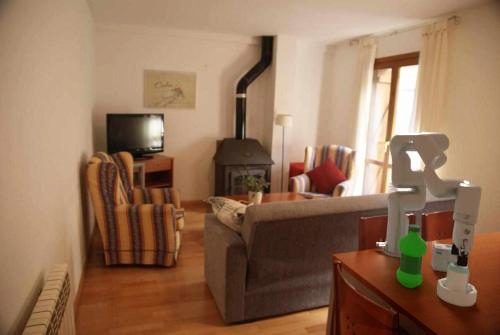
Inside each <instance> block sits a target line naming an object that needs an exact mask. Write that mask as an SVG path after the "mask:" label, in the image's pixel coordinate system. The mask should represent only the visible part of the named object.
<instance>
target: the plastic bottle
mask: <svg viewBox="0 0 500 335" xmlns="http://www.w3.org/2000/svg"><path fill="white" fill-rule="evenodd" d="M419 233H421V226H420V225H418V224H412V223H411V224H410V223H409V226H408V234H407V235H405V236H403V237H402V238H400V240H399V243H398V245H399V250H400V252H401V258H400V259H399V260H400V261H399V267H398V269H397V270H396V279H397V281H398V282H399V283H400V284H401V285H402V286H403V287H404V288H408V289H414V288H416V287H418V286H420V285H421V284H422V283H423V279H424V278H423V275H422V264H423V256H425V255H426V254H427V250H428V246H427V243H426V241H425V240H424V239H423V238H422V237H421V236H420V234H419Z"/></svg>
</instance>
